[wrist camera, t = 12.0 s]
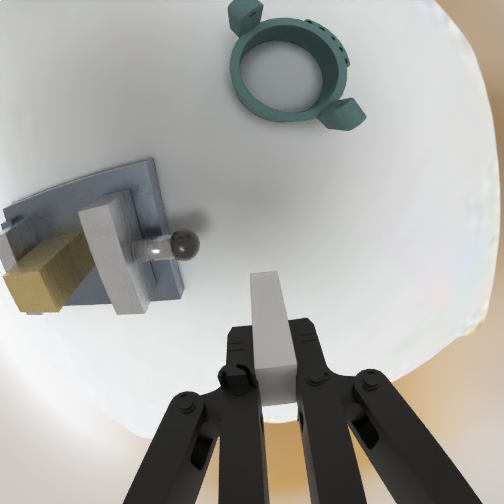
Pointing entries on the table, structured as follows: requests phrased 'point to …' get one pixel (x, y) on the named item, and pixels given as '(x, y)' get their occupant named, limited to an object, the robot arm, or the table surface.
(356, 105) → the bracket
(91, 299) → the vise
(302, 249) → the table surface
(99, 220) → the free jaw
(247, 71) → the table surface
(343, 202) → the table surface
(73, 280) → the brass block
